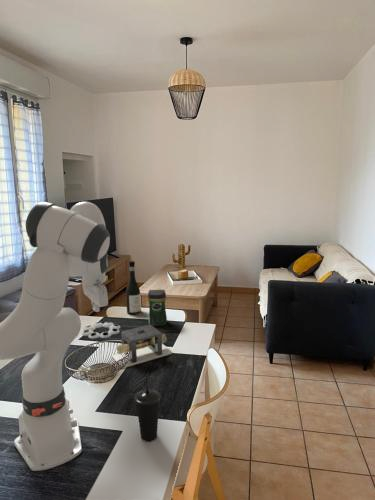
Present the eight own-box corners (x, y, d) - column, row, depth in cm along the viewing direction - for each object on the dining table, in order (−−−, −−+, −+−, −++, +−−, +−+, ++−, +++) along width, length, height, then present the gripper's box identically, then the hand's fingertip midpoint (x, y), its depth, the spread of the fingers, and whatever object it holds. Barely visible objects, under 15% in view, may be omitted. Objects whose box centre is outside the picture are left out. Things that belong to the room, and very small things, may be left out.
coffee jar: (167, 320, 204) (166, 287, 200) (166, 326, 196) (165, 292, 192) (149, 320, 204) (148, 287, 200) (147, 326, 196) (146, 292, 192)
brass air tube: (162, 340, 172) (162, 332, 171) (166, 343, 169) (166, 335, 168) (117, 352, 161) (116, 344, 160) (120, 356, 158) (120, 347, 157)
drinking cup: (140, 448, 110) (137, 386, 106) (133, 432, 117) (130, 373, 113) (165, 440, 113) (163, 380, 109) (156, 425, 120) (155, 367, 116)
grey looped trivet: (95, 321, 205) (94, 318, 204) (127, 325, 199) (127, 322, 198) (73, 336, 186) (73, 332, 186) (109, 341, 180) (108, 337, 180)
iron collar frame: (151, 344, 173) (150, 324, 171) (162, 354, 164) (161, 333, 162) (122, 352, 166) (121, 331, 164) (132, 363, 157) (131, 340, 155)
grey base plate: (160, 344, 176) (160, 342, 176) (172, 353, 167) (172, 351, 167) (111, 357, 164) (111, 355, 164) (121, 368, 155) (121, 366, 154)
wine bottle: (143, 312, 215) (141, 261, 209) (130, 316, 211) (128, 263, 205) (137, 308, 222) (134, 259, 216) (124, 311, 217) (122, 261, 211)
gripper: (111, 282, 141) (113, 317, 144) (93, 270, 158) (95, 302, 161) (94, 285, 138) (97, 320, 140) (78, 273, 155) (81, 305, 157)
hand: (96, 310), depth 151 cm, fingers closed
